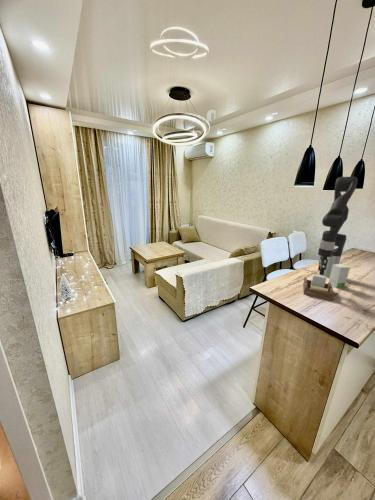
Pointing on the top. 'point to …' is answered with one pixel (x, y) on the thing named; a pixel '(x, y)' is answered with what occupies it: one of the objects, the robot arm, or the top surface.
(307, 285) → the rack
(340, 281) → the skincare box
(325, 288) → the offcut upper
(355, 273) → the top surface
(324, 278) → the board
